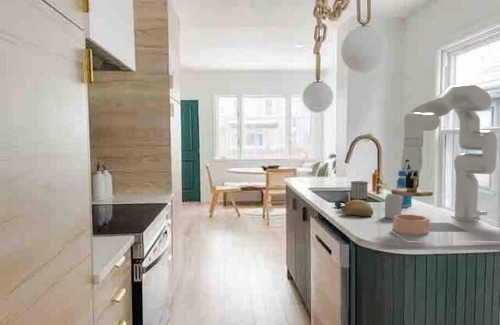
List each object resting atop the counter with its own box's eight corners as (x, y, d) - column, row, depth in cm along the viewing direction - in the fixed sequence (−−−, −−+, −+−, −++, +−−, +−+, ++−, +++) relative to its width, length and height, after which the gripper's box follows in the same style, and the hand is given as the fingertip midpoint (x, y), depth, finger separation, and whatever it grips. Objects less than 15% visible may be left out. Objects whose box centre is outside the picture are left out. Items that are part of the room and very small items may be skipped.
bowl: (419, 228, 181) (420, 214, 181) (433, 235, 168) (433, 220, 168) (389, 228, 181) (390, 214, 181) (400, 235, 168) (401, 220, 168)
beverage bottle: (394, 205, 238) (395, 170, 236) (398, 203, 244) (399, 169, 243) (409, 207, 233) (410, 171, 231) (413, 205, 240) (414, 170, 238)
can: (402, 220, 197) (403, 195, 196) (385, 219, 199) (386, 194, 198) (400, 217, 204) (400, 193, 204) (384, 216, 206) (384, 192, 205)
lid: (423, 191, 182) (423, 174, 181) (439, 196, 166) (440, 178, 165) (386, 190, 181) (386, 174, 181) (399, 196, 166) (399, 178, 165)
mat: (449, 223, 190) (449, 222, 190) (468, 232, 173) (468, 231, 173) (413, 223, 190) (413, 222, 190) (430, 232, 173) (430, 231, 173)
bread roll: (342, 213, 216) (342, 197, 215) (372, 214, 212) (373, 198, 212) (341, 216, 207) (342, 200, 206) (373, 218, 203) (373, 201, 202)
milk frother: (370, 210, 225) (371, 182, 224) (344, 211, 220) (345, 183, 219) (357, 205, 238) (357, 179, 237) (331, 206, 234) (332, 180, 233)
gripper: (412, 142, 181) (411, 184, 182) (395, 143, 169) (393, 188, 170) (430, 143, 175) (429, 186, 177) (413, 143, 164) (412, 190, 165)
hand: (411, 186), depth 173 cm, fingers closed on lid, 4 cm apart
